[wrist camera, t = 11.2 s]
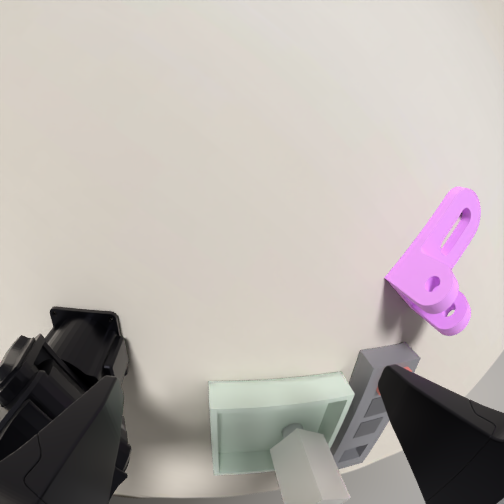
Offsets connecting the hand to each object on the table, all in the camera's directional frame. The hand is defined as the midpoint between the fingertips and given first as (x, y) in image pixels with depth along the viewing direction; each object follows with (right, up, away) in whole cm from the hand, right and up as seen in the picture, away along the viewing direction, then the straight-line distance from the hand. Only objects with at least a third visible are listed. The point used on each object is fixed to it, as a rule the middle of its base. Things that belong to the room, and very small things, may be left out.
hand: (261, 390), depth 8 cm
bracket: (+18, +5, +15) cm, 24 cm away
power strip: (+13, -15, +21) cm, 28 cm away
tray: (+2, -14, +19) cm, 23 cm away
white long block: (+4, -16, +19) cm, 25 cm away
